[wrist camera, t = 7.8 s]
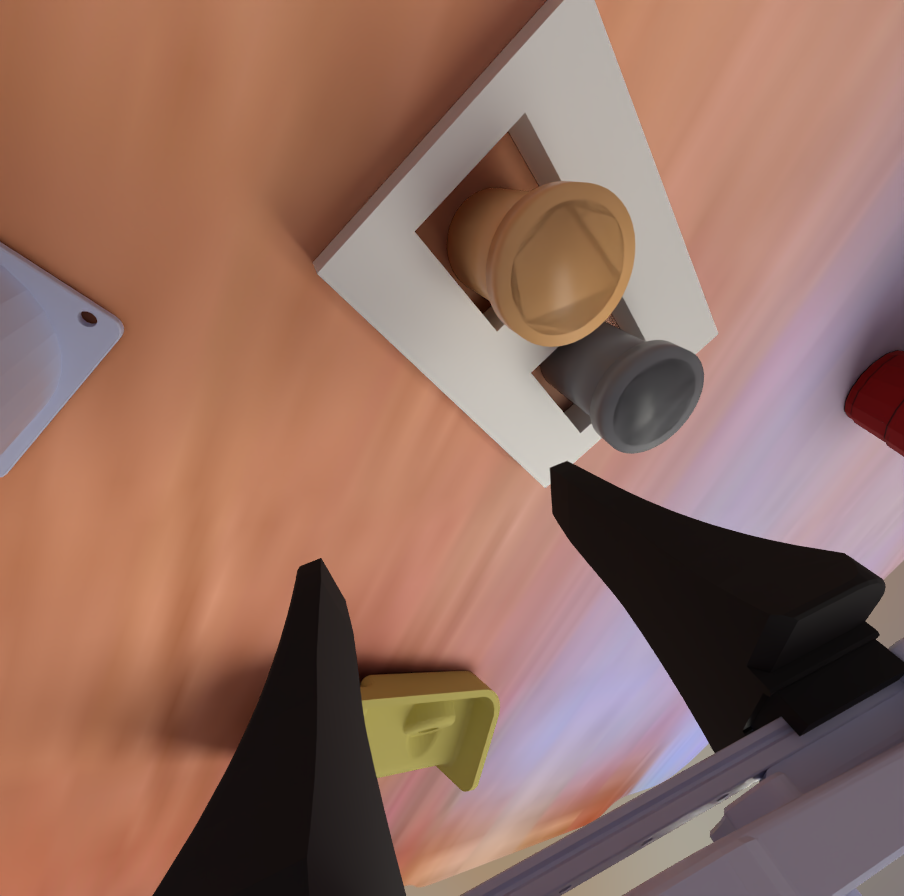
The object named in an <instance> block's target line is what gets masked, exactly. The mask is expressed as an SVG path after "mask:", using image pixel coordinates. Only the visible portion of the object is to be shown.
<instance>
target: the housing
mask: <svg viewBox="0 0 904 896" xmlns="http://www.w3.org/2000/svg"><path fill="white" fill-rule="evenodd" d="M507 132H509V134H510V135H511V137H512V139H513V141H514V142H515V144H516V146H517V148H518V149H519V151H520V153H521V155H522V157H523V158H524V160H525V162H526V164H527V165H528V167H529V169H530V171H531V172H532V174H533V176H534V178H535V179H536V181H537V183H538V185H539V186H542V185H544V184H548V183H551V182H557V181H573V182H586V183H593V184H597V185H600V186H602V187H605V188H607V189H608V190H610V191H611V192H613V193H614V194H615V195H616V196H617V197H618V198H619V199H620V200H621V201H622V203H623V204H624V206H625V207H626V209H627V211H628V213H629V215H630V217H631V220H632V224H633V228H634V233H635V258H634V265H633V269H632V273H631V277H630V280H629V282H628V285H627V287H626V290H625V292H624V294H623V296H622V298H621V299H620V301H619V303H618V305H617V306H616V307H615V309H614V310H613V312H612V315H613V317H614V319H615V321H616V322H617V324H618V326H619V328H620V329H621V330H623V331H625V332H627V333H629V334H631V335H633V336H635V337H637V338H639V339H641V340H643V341H645V342H647V341H651V340H665V341H669V342H671V343H673V344H676V345H678V346H680V347H682V348H684V349H686V350H689V351H691V352H692V353H694V354H696V353H698V352H699V351H700V350H701V349H702V348H703V347H704V346H705V345H707V344H708V343H709V342H710V341H711V340H712V339H713V338H714V337H716V336H717V335H718V332H717V329H716V326H715V323H714V321H713V318H712V315H711V313H710V310H709V307H708V305H707V302H706V299H705V297H704V294H703V291H702V289H701V286H700V283H699V280H698V278H697V275H696V272H695V270H694V267H693V264H692V262H691V259H690V256H689V254H688V251H687V248H686V245H685V243H684V240H683V237H682V235H681V232H680V229H679V227H678V224H677V221H676V219H675V216H674V213H673V210H672V208H671V205H670V202H669V200H668V197H667V194H666V192H665V189H664V186H663V184H662V181H661V178H660V175H659V173H658V170H657V167H656V165H655V162H654V159H653V157H652V154H651V151H650V149H649V146H648V143H647V140H646V138H645V135H644V132H643V130H642V127H641V124H640V122H639V119H638V116H637V114H636V111H635V108H634V105H633V103H632V100H631V97H630V95H629V92H628V89H627V87H626V84H625V81H624V79H623V76H622V73H621V70H620V68H619V65H618V62H617V60H616V57H615V54H614V52H613V49H612V46H611V44H610V41H609V38H608V35H607V33H606V30H605V27H604V25H603V22H602V19H601V17H600V14H599V11H598V9H597V6H596V3H595V0H547V1H546V2H545V3H544V5H543V6H542V7H541V8H540V9H539V10H538V11H537V12H536V13H535V15H534V16H533V17H532V18H531V19H530V20H529V21H528V22H527V23H526V25H525V26H524V27H523V28H522V29H521V30H520V31H519V32H518V34H517V35H516V36H515V37H514V38H513V39H512V40H511V41H510V42H509V44H508V45H507V46H506V47H505V48H504V49H503V50H502V51H501V53H500V54H499V55H498V56H497V57H496V58H495V59H494V60H493V61H492V63H491V64H490V65H489V66H488V67H487V68H486V69H485V70H484V72H483V73H482V74H481V75H480V76H479V77H478V78H477V79H476V80H475V82H474V83H473V84H472V85H471V86H470V87H469V88H468V89H467V91H466V92H465V93H464V94H463V95H462V96H461V97H460V98H459V99H458V101H457V102H456V103H455V104H454V105H453V106H452V107H451V108H450V110H449V111H448V112H447V113H446V114H445V115H444V116H443V117H442V118H441V120H440V121H439V122H438V123H437V124H436V125H435V126H434V127H433V129H432V130H431V131H430V132H429V133H428V134H427V135H426V136H425V137H424V139H423V140H422V141H421V142H420V143H419V144H418V145H417V146H416V148H415V149H414V150H413V151H412V152H411V153H410V154H409V155H408V156H407V158H406V159H405V160H404V161H403V162H402V163H401V164H400V165H399V166H398V168H397V169H396V170H395V171H394V172H393V173H392V174H391V175H390V177H389V178H388V179H387V180H386V181H385V182H384V183H383V184H382V185H381V187H380V188H379V189H378V190H377V191H376V192H375V193H374V194H373V196H372V197H371V198H370V199H369V200H368V201H367V202H366V203H365V204H364V206H363V207H362V208H361V209H360V210H359V211H358V212H357V213H356V215H355V216H354V217H353V218H352V219H351V220H350V221H349V222H348V223H347V225H346V226H345V227H344V228H343V229H342V230H341V231H340V232H339V234H338V235H337V236H336V237H335V238H334V239H333V240H332V241H331V242H330V244H329V245H328V246H327V247H326V248H325V249H324V250H323V251H322V253H321V254H320V255H319V256H318V257H317V258H316V259H315V260H314V261H313V265H314V268H315V270H316V272H317V274H318V275H319V276H320V277H321V278H322V279H323V280H324V281H325V282H326V283H328V284H329V285H330V286H331V287H332V288H333V289H334V290H335V291H336V292H337V293H338V294H339V295H340V296H341V297H342V298H343V299H345V300H346V301H347V302H348V303H349V304H350V305H351V306H352V307H353V308H354V309H355V310H356V311H357V312H358V313H359V314H361V315H362V316H363V317H364V318H365V319H366V320H367V321H368V322H369V323H370V324H371V325H372V326H373V327H374V328H375V329H376V330H378V331H379V332H380V333H381V334H382V335H383V336H384V337H385V338H386V339H387V340H388V341H389V342H390V343H391V344H392V345H393V346H395V347H396V348H397V349H398V350H399V351H400V352H401V353H402V354H403V355H404V356H405V357H406V358H407V359H408V360H409V361H411V362H412V363H413V364H414V365H415V366H416V367H417V368H418V369H419V370H420V371H421V372H422V373H423V374H424V375H425V376H426V377H428V378H429V379H430V380H431V381H432V382H433V383H434V384H435V385H436V386H437V387H438V388H439V389H440V390H441V391H442V392H443V393H445V394H446V395H447V396H448V397H449V398H450V399H451V400H452V401H453V402H454V403H455V404H456V405H457V406H458V407H459V408H461V409H462V410H463V411H464V412H465V413H466V414H467V415H468V416H469V417H470V418H471V419H472V420H473V421H474V422H475V423H476V424H478V425H479V426H480V427H481V428H482V429H483V430H484V431H485V432H486V433H487V434H488V435H489V436H490V437H491V438H492V439H494V440H495V441H496V442H497V443H498V444H499V445H500V446H501V447H502V448H503V449H504V450H505V451H506V452H507V453H508V454H509V455H511V456H512V457H513V458H514V459H515V460H516V461H517V462H518V463H519V464H520V465H521V466H522V467H523V468H524V469H525V470H526V471H528V472H529V473H530V474H531V475H532V476H533V477H534V478H535V479H536V480H537V481H538V482H539V483H540V484H541V485H542V486H544V487H545V488H546V487H547V486H548V485H550V484H551V482H550V467H553V466H555V465H558V464H560V463H563V462H565V461H569V462H570V463H572V464H573V463H574V462H575V461H576V460H578V459H579V458H580V457H581V456H582V455H583V454H584V453H585V452H587V451H588V450H589V449H590V448H591V447H592V446H593V445H594V444H596V443H597V442H598V441H599V440H600V439H601V437H600V436H599V435H598V434H597V433H596V431H595V430H594V428H593V426H592V423H591V419H590V416H589V415H588V414H587V413H585V412H584V411H583V410H582V409H580V408H579V407H578V406H577V405H575V404H573V405H572V406H571V407H570V408H569V409H567V410H566V411H565V412H564V413H563V411H562V410H561V409H560V408H559V407H558V405H557V404H556V403H555V402H554V400H553V399H552V398H551V397H550V396H549V394H548V393H547V392H546V391H545V389H544V388H543V387H542V386H541V385H540V383H539V382H538V381H537V380H536V379H535V377H534V376H533V375H532V374H531V372H532V371H533V370H534V369H535V368H537V367H538V366H539V365H540V364H541V363H542V362H543V361H544V360H545V359H546V358H547V357H548V356H549V355H550V354H551V353H552V352H553V351H554V350H555V349H556V348H558V347H559V346H556V347H546V346H540V345H536V344H533V343H531V342H529V341H527V340H525V339H524V338H522V337H521V336H519V335H518V334H516V333H515V332H514V331H512V330H511V329H509V328H508V327H507V326H506V325H505V324H504V323H503V322H502V321H501V320H500V319H499V318H498V316H497V315H496V313H495V311H494V310H493V308H492V306H491V307H490V308H489V309H488V310H487V311H486V312H485V313H484V314H482V313H481V312H480V310H479V309H478V308H477V307H476V306H475V304H474V303H473V302H472V301H471V300H470V298H469V297H468V296H467V295H466V293H465V292H464V291H463V290H462V289H461V287H460V286H459V285H458V284H457V282H456V281H455V280H454V279H453V278H452V276H451V275H450V274H449V273H448V272H447V270H446V269H445V268H444V267H443V265H442V264H441V263H440V262H439V261H438V259H437V258H436V257H435V256H434V255H433V253H432V252H431V251H430V250H429V248H428V247H427V246H426V245H425V244H424V242H423V241H422V240H421V239H420V238H419V236H418V235H417V234H416V233H415V231H416V229H417V228H418V227H419V226H420V225H421V224H422V223H423V222H424V221H425V220H426V219H427V218H428V217H429V215H430V214H431V213H432V212H433V211H434V210H435V209H436V208H437V207H438V206H439V205H440V204H441V203H442V201H443V200H444V199H445V198H446V197H447V196H448V195H449V194H450V193H451V192H452V191H453V190H454V189H455V188H456V186H457V185H458V184H459V183H460V182H461V181H462V180H463V179H464V178H465V177H466V176H467V175H468V174H469V172H470V171H471V170H472V169H473V168H474V167H475V166H476V165H477V164H478V163H479V162H480V161H481V160H482V158H483V157H484V156H485V155H486V154H487V153H488V152H489V151H490V150H491V149H492V148H493V147H494V146H495V144H496V143H497V142H498V141H499V140H500V139H501V138H502V137H503V136H504V135H505V134H506V133H507Z"/></svg>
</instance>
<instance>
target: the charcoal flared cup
mask: <svg viewBox="0 0 904 896" xmlns="http://www.w3.org/2000/svg"><path fill="white" fill-rule="evenodd" d="M540 365H541V371H542V374H543V376H544V378H545V379H546V381H547V382H548V383H549V384H551V385H552V386H553V387H554V388H555V389H557V390H558V391H559V392H560V393H562V394H563V395H564V396H565V397H567V398H568V399H569V400H570V401H572V402H573V403H574V404H575V405H577V406H578V407H579V408H580V409H582V410H583V411H584V412H585V413H587V414H588V415H589V416H590V419H591V423H592V426H593V428H594V430H595V431H596V433H597V434H598V435H599V436H600V437H601V438H603V439H604V440H605V441H606V442H607V443H609V444H610V445H611V446H612V447H613V448H615V449H616V450H618V451H620V452H624V453H639V452H644V451H647V450H650V449H652V448H654V447H656V446H658V445H660V444H661V443H663V442H664V441H666V440H667V439H668V438H670V437H671V436H672V435H673V434H674V433H676V432H677V431H678V430H679V429H680V428H681V426H682V425H683V424H684V423H685V422H686V420H687V419H688V418H689V416H690V415H691V413H692V412H693V410H694V408H695V407H696V405H697V402H698V400H699V398H700V395H701V392H702V388H703V382H704V372H703V367H702V364H701V362H700V360H699V358H698V357H697V356H696V355H695V354H694V353H692V352H691V351H689V350H686V349H684V348H682V347H680V346H678V345H676V344H673V343H671V342H669V341H665V340H651V341H647V342H645V341H643V340H641V339H639V338H637V337H635V336H633V335H631V334H629V333H627V332H625V331H623V330H621V329H619V328H617V327H615V326H613V325H610V324H608V323H606V322H603V323H602V324H601V325H600V326H599V327H598V328H597V329H595V330H594V331H593V332H592V333H590V334H589V335H587V336H585V337H584V338H582V339H580V340H578V341H576V342H573V343H570V344H567V345H563V346H559V347H558V348H556V349H555V350H554V351H553V352H552V353H551V354H550V355H549V356H548V357H547V358H546V359H545V360H544V361H543V362H542V363H541V364H540Z"/></svg>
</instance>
